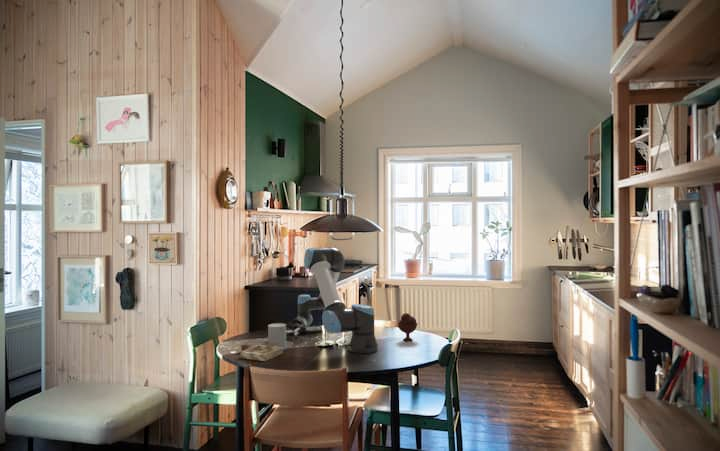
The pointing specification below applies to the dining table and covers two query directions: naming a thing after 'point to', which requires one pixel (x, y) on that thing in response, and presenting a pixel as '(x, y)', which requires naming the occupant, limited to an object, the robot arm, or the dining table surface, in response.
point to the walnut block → (245, 346)
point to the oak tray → (261, 352)
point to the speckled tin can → (277, 335)
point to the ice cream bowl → (407, 325)
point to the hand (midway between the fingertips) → (283, 332)
